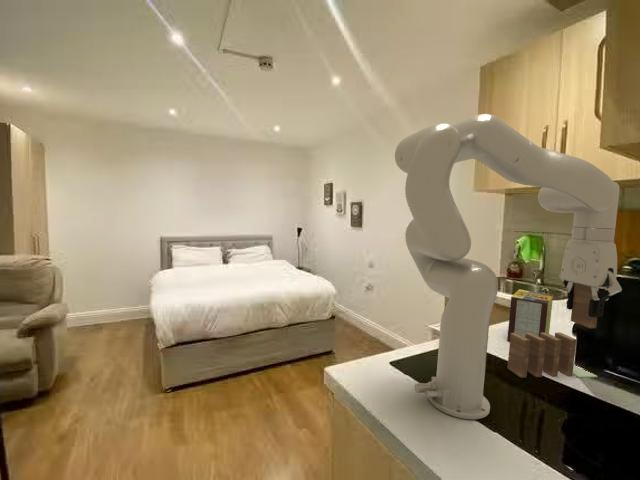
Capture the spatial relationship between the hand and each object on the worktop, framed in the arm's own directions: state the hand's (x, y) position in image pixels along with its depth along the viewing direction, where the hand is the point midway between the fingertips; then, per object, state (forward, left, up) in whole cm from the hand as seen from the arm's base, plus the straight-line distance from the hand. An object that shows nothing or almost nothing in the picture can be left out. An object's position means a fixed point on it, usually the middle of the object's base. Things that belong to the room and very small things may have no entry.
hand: (584, 312), depth 77 cm
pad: (+10, +10, -20) cm, 24 cm away
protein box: (+14, +32, -20) cm, 40 cm away
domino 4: (+6, +10, -20) cm, 23 cm away
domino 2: (-3, +10, -20) cm, 22 cm away
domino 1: (-8, +10, -20) cm, 23 cm away
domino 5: (0, 0, -3) cm, 3 cm away
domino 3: (+1, +10, -20) cm, 22 cm away
